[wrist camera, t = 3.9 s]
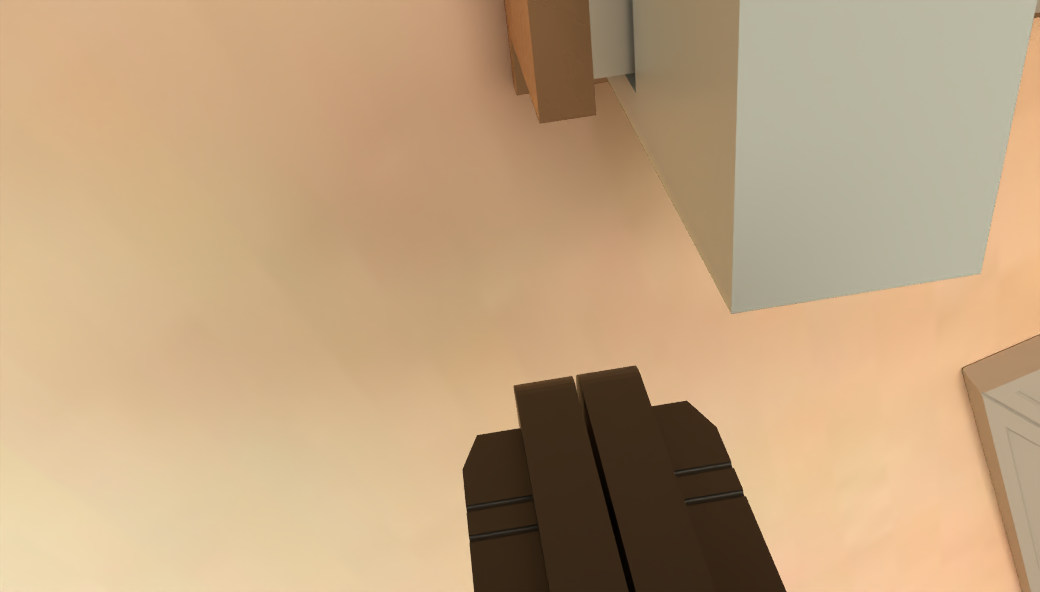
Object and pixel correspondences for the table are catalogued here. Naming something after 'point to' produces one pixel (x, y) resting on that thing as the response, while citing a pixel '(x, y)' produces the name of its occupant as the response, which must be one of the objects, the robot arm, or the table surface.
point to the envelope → (1012, 445)
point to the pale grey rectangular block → (828, 136)
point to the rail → (571, 51)
